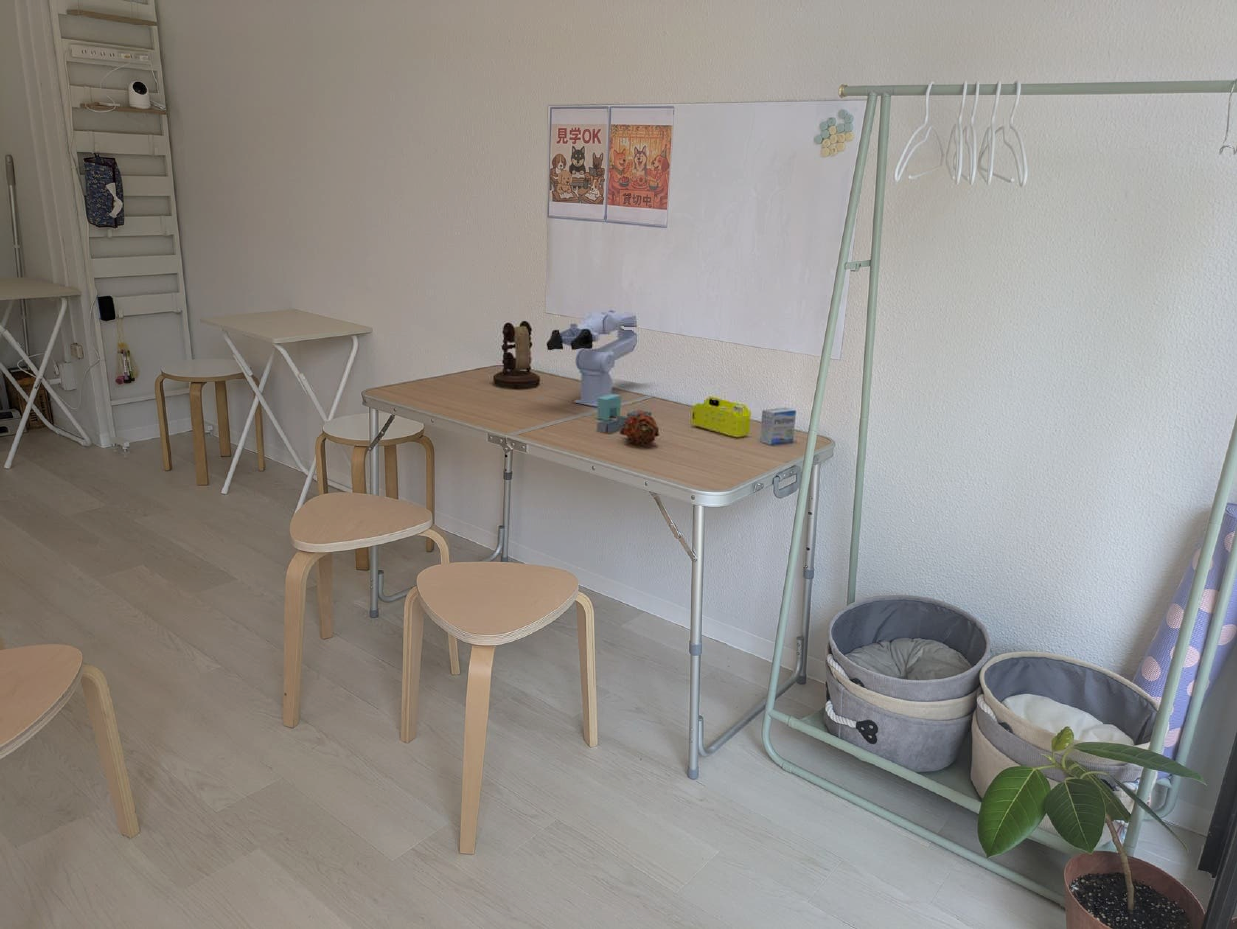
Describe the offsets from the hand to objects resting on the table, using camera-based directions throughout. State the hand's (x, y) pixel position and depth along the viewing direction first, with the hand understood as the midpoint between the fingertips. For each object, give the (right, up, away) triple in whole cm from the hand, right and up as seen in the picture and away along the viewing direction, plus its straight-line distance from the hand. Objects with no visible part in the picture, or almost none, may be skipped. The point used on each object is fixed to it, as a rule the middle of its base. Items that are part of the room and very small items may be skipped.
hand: (560, 346), depth 249 cm
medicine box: (+57, -26, -10) cm, 64 cm away
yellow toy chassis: (+43, -24, -2) cm, 49 cm away
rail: (+17, -21, 0) cm, 27 cm away
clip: (+13, -19, +7) cm, 24 cm away
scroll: (-16, -7, +42) cm, 46 cm away
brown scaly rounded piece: (+21, -27, -16) cm, 38 cm away
